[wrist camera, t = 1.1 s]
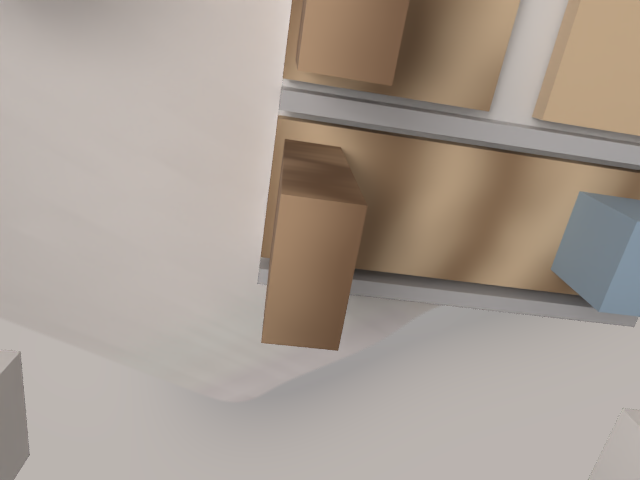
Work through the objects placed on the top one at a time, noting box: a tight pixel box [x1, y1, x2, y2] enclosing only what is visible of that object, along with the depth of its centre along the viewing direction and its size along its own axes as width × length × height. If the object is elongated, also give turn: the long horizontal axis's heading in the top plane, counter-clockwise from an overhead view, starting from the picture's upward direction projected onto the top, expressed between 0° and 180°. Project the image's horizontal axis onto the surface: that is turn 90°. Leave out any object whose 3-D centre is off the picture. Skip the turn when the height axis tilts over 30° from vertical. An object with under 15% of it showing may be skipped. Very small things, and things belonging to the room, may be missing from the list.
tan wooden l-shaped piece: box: [261, 115, 640, 351], centre depth 24 cm, size 24×8×11 cm, turn 81°
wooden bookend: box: [283, 0, 520, 112], centre depth 19 cm, size 11×8×11 cm
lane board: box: [257, 0, 640, 327], centre depth 27 cm, size 24×21×3 cm
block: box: [551, 191, 640, 317], centre depth 27 cm, size 5×5×5 cm
